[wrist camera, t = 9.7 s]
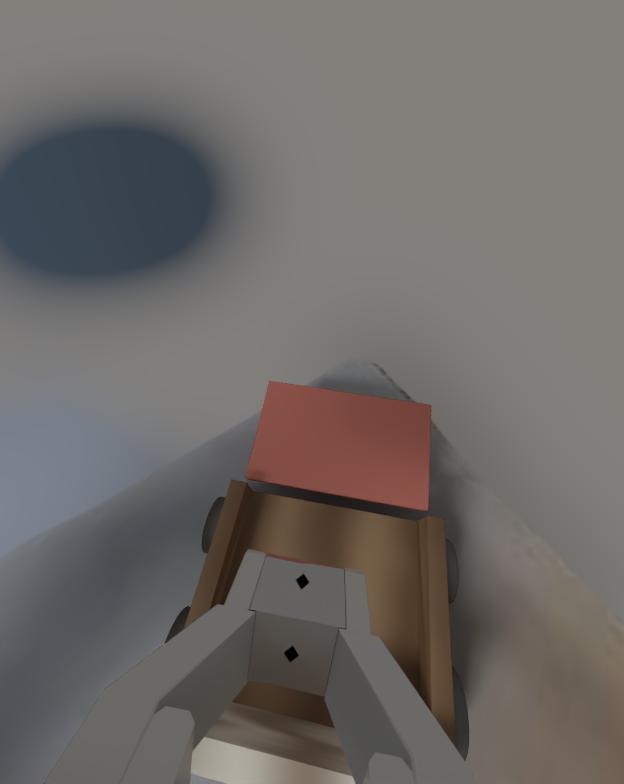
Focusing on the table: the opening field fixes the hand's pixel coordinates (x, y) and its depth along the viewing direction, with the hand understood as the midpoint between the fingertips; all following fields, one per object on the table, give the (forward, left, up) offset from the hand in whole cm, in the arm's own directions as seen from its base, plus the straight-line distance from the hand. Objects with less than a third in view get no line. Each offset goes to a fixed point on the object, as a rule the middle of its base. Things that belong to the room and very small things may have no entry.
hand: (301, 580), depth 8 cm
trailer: (+1, -1, -21) cm, 21 cm away
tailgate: (+1, +6, -17) cm, 18 cm away
